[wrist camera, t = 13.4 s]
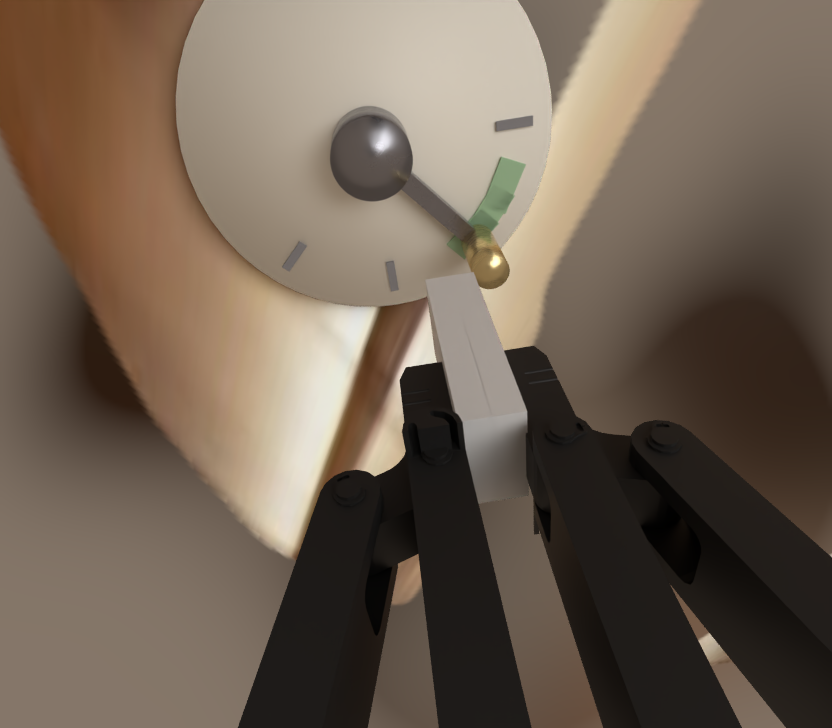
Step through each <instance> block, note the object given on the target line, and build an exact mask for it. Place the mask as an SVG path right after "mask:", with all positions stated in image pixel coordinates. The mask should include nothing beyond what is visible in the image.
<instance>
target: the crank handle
mask: <svg viewBox="0 0 832 728" xmlns="http://www.w3.org/2000/svg"><path fill="white" fill-rule="evenodd" d="M330 165H331V170H332V173H333V176H334V178H335V180H336V181H337V183H338V184H339V186H340V187H341V188H342V189H343V190H344V191H345V192H346V193H348V194H349V195H351V196H353V197H354V198H357V199H359V200H363V201H370V202H373V201H381V200H385V199H388V198H390V197H392V196H393V195H395V194H396V193H398V192H399V191H400V190H403V191H404V192H405V193H406V194H407V195H408V196H410V197H411V198H412V199H413V200H414V201H415V202H417V203H418V204H419V205H420V206H421V207H422V208H424V209H425V210H426V211H427V212H428V213H429V214H431V215H432V216H433V217H434V218H435V219H437V220H438V221H439V222H440V223H441V224H442V225H444V226H445V227H446V228H447V229H448V230H449V231H451V232H452V233H453V234H454V235H455V236H456V237H458V238H459V239H460V240H461V246H462V249H463V251H464V254H465V257H466V259H467V262H468V265H469V267H470V270H471V272H474V275H475V277H476V280H477V282H478V285H479V286H480V287H482V288H485V289H494V288H497V287H499V286H501V285H502V284H503V283H504V282H505V281H506V280H507V278H508V276H509V272H510V269H509V265H508V263H507V261H506V259H505V257H504V255H503V253H502V251H501V249H500V247H499V245H498V243H497V241H496V239H495V237H494V235H493V233H492V231H491V230H490V229H489V228H488V227H487V226H484V225H480V224H478V225H472V224H471V223H470V222H469V221H467V220H466V219H465V218H464V217H463V216H462V215H461V214H459V213H458V212H457V211H456V210H455V209H454V208H453V207H452V206H450V205H449V204H448V203H447V202H446V201H445V200H444V199H442V198H441V197H440V196H439V195H438V194H437V193H436V192H435V191H433V190H432V189H431V188H430V187H429V186H428V185H427V184H425V183H424V182H423V181H422V180H421V179H420V178H419V177H418V176H416V175H415V174H414V173H413V172H412V166H413V155H412V149H411V146H410V143H409V139H408V136H407V133H406V131H405V128H404V127H403V125H402V123H401V122H400V121H399V119H398V118H397V117H396V116H395V115H393V114H392V113H391V112H389V111H387V110H385V109H383V108H380V107H375V106H363V107H359V108H356V109H353V110H351V111H350V112H348V113H347V114H346V115H344V116H343V117H342V118H341V119H340V121H339V122H338V124H337V125H336V127H335V129H334V132H333V135H332V141H331V151H330Z"/></svg>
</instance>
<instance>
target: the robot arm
mask: <svg viewBox="0 0 832 728" xmlns="http://www.w3.org/2000/svg"><path fill="white" fill-rule="evenodd" d="M425 282H426V290H427V297H428V304H429V312H430V319H431V327H432V334H433V342H434V349H435V355H436V360H437V363H431V364H425V365H419V366H413V367H406V368H405V370H404V372H403V374H402V376H401V379H400V388H401V396H402V405H403V414H404V424H403V430H402V434H403V439H404V444H405V449H406V452H405V455H404V457H403V458H402V460H401V461H400V462H399V463H398V464H397V465H396V466H394V467H393V468H391V469H390V470H388V471H386V472H384V473H382V474H379V475H377V476H373V475H371V474H370V473H368V472H366V471H360V470H351V471H345V472H342V473H340V474H338V475H335V476H334V477H333V478H331V479H330V480H329V481H328V482H327V483H326V484H325V485H324V487H323V489H322V490H321V492H320V495H319V497H318V500H317V503H316V506H315V509H314V512H313V515H312V517H311V520H310V523H309V526H308V529H307V532H306V535H305V537H304V540H303V543H302V546H301V549H300V552H299V555H298V557H297V560H296V563H295V566H294V569H293V572H292V575H291V578H290V580H289V583H288V586H287V589H286V592H285V595H284V597H283V600H282V603H281V606H280V609H279V612H278V615H277V617H276V620H275V623H274V626H273V629H272V632H271V635H270V637H269V640H268V643H267V646H266V649H265V652H264V655H263V658H262V660H261V663H260V666H259V669H258V672H257V675H256V678H255V680H254V683H253V686H252V689H251V692H250V695H249V697H248V700H247V704H246V706H245V709H244V712H243V715H242V717H241V720H240V723H239V726H238V728H368V723H369V718H370V712H371V707H372V702H373V696H374V691H375V686H376V681H377V675H378V670H379V665H380V660H381V654H382V649H383V644H384V638H385V633H386V628H387V622H388V617H389V612H390V606H391V601H392V596H393V591H394V585H395V580H396V575H397V569H398V563H400V562H402V561H404V560H406V559H408V558H411V557H413V556H415V555H417V554H419V562H420V571H421V579H422V588H423V596H424V604H425V614H426V621H427V631H428V639H429V648H430V656H431V665H432V673H433V682H434V690H435V699H436V707H437V716H438V724H439V728H531V724H530V719H529V715H528V711H527V707H526V703H525V698H524V694H523V690H522V686H521V681H520V677H519V673H518V669H517V665H516V661H515V656H514V652H513V648H512V643H511V639H510V635H509V631H508V627H507V622H506V618H505V614H504V610H503V605H502V601H501V597H500V593H499V589H498V584H497V580H496V576H495V572H494V567H493V563H492V559H491V555H490V550H489V547H488V542H487V538H486V533H485V530H484V525H483V521H482V517H481V512H480V508H479V504H480V503H486V502H492V501H498V500H504V499H510V498H516V497H523V496H528V495H529V491H528V489H529V488H528V483H529V486H530V489H531V492H532V495H533V498H534V499H533V502H534V534H539V531H540V534H541V537H542V539H543V543H544V546H545V549H546V552H547V555H548V558H549V561H550V564H551V567H552V571H553V574H554V576H555V580H556V583H557V586H558V589H559V592H560V595H561V598H562V602H563V605H564V608H565V611H566V614H567V617H568V620H569V623H570V626H571V629H572V633H573V635H574V639H575V642H576V645H577V648H578V651H579V654H580V657H581V660H582V663H583V667H584V669H585V673H586V676H587V679H588V682H589V685H590V688H591V691H592V694H593V697H594V700H595V704H596V707H597V710H598V712H599V716H600V719H601V722H602V725H603V728H742V727H741V725H740V723H739V721H738V719H737V717H736V715H735V713H734V711H733V709H732V707H731V705H730V703H729V701H728V699H727V697H726V695H725V693H724V691H723V689H722V687H721V685H720V683H719V681H718V679H717V677H716V675H715V673H714V671H713V669H712V667H711V665H710V663H709V661H708V659H707V657H706V655H705V653H704V651H703V649H702V647H701V645H700V643H699V641H698V639H697V638H696V635H695V634H694V632H693V630H692V627H691V626H690V624H689V622H688V620H687V618H686V616H685V614H684V612H683V610H682V608H681V606H680V604H679V602H678V600H677V598H676V596H675V594H674V592H673V590H672V588H671V586H672V587H673V588H674V589H675V591H676V592H677V593H678V594H679V596H680V597H681V598H682V599H683V600H684V602H685V603H686V604H687V606H688V607H689V608H690V609H691V610H692V612H693V613H694V614H695V615H696V617H697V618H698V619H699V620H700V622H701V623H702V624H703V625H704V627H705V628H706V629H707V630H708V632H709V633H710V634H711V635H712V637H713V638H714V639H715V640H716V641H717V643H718V644H719V645H720V646H721V648H722V649H723V650H724V651H725V653H726V654H727V655H728V656H729V658H730V659H731V660H732V661H733V662H734V664H735V665H736V666H737V667H738V669H739V670H740V671H741V672H742V674H743V675H744V676H745V677H746V679H747V680H748V681H749V682H750V683H751V684H752V686H753V687H754V688H755V690H756V691H757V692H758V693H759V695H760V696H761V697H762V698H763V700H764V701H765V702H766V703H767V705H768V706H769V707H770V708H771V709H772V711H773V712H774V713H775V714H776V716H777V717H778V718H779V719H780V721H781V722H782V723H783V724H784V726H785V727H786V728H832V557H831V556H830V555H828V554H827V553H826V552H825V551H824V550H823V549H822V548H820V547H819V546H818V545H817V544H816V543H815V542H814V541H813V540H812V539H810V538H809V537H808V536H807V535H806V534H805V533H804V532H803V531H801V530H800V529H799V528H798V527H797V526H796V525H795V524H794V523H792V522H791V521H790V520H789V519H788V518H787V517H786V516H785V515H783V514H782V513H781V512H780V511H779V510H778V509H777V508H776V507H774V506H773V505H772V504H771V503H770V502H769V501H768V500H767V499H765V498H764V497H763V496H762V495H761V494H760V493H759V492H758V491H756V490H755V489H754V488H753V487H752V486H751V485H749V483H747V482H746V481H745V480H744V479H743V478H742V477H741V476H740V475H738V474H737V473H736V472H735V471H734V470H733V469H732V468H731V467H729V466H728V465H727V464H726V463H725V462H724V461H723V460H722V459H720V458H719V457H718V456H717V455H716V454H715V453H714V452H713V451H711V450H710V449H709V448H708V447H707V446H706V445H705V444H704V443H702V442H701V441H700V440H699V439H698V438H697V437H696V436H694V435H693V434H692V433H691V432H690V431H689V430H687V429H685V428H684V427H682V426H681V425H678V424H675V423H672V422H669V421H658V420H654V421H649V422H644V423H642V424H641V425H639V426H637V427H636V428H635V429H634V431H633V433H632V434H631V436H625V435H613V434H606V433H601V432H598V431H595V430H592V429H591V427H590V426H589V425H588V424H587V423H586V422H585V421H584V420H582V419H580V418H578V417H576V415H575V413H574V411H573V409H572V407H571V405H570V403H569V401H568V399H567V397H566V395H565V393H564V391H563V388H562V386H561V384H560V382H559V381H558V379H557V376H556V374H555V372H554V370H553V368H552V366H551V364H550V362H549V360H548V358H547V356H546V355H545V354H544V353H542V352H541V351H540V350H539V349H537V348H536V347H535V346H530V347H523V348H517V349H511V350H505V351H504V350H503V347H502V345H501V342H500V339H499V337H498V334H497V332H496V329H495V326H494V324H493V321H492V319H491V316H490V313H489V311H488V308H487V306H486V303H485V300H484V298H483V295H482V293H481V290H480V287H479V285H478V282H477V280H476V277H475V275H474V272H470V273H464V274H457V275H451V276H445V277H439V278H432V279H426V280H425ZM669 583H670V584H669ZM670 585H671V586H670Z"/></svg>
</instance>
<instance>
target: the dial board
mask: <svg viewBox="0 0 832 728" xmlns="http://www.w3.org/2000/svg"><path fill="white" fill-rule="evenodd" d="M363 106H375V107H380V108H383V109H385V110H387V111H389V112H391V113H392V114H393V115H395V116H396V117H397V118H398V119H399V121H400V122H401V123H402V125H403V127H404V128H405V131H406V133H407V136H408V139H409V143H410V146H411V149H412V155H413V166H412V172H413V173H414V174H415V175H416V176H418V177H419V178H420V179H421V180H422V181H423V182H424V183H425V184H427V185H428V186H429V187H430V188H431V189H432V190H433V191H435V192H436V193H437V194H438V195H439V196H440V197H441V198H442V199H444V200H445V201H446V202H447V203H448V204H449V205H450V206H452V207H453V208H454V209H455V210H456V211H457V212H458V213H459V214H461V215H462V216H463V217H464V218H465V219H466V220H467V221H469V222H470V223H471V224H472V225H478V224H480V225H484V226H487V227H488V228H489V229H490V230H491V231H492V233H493V235H494V237H495V239H496V241H497V243H498V245H499V247H500V249H501V248H502V247H503V246H504V244H505V243H506V242H507V241H508V239H509V238H510V237H511V235H512V234H513V233H514V232H515V230H516V229H517V228H518V226H519V224H520V223H521V221H522V220H523V218H524V216H525V215H526V213H527V211H528V210H529V208H530V206H531V203H532V201H533V199H534V197H535V195H536V192H537V190H538V188H539V185H540V182H541V179H542V176H543V173H544V169H545V166H546V162H547V156H548V151H549V146H550V140H551V126H552V104H551V90H550V84H549V78H548V73H547V67H546V63H545V60H544V57H543V53H542V50H541V47H540V44H539V41H538V38H537V36H536V34H535V32H534V30H533V27H532V25H531V23H530V21H529V19H528V17H527V14H526V13H525V11H524V10H523V8H522V7H521V5H520V4H519V2H518V0H204V2H203V4H202V5H201V7H200V9H199V11H198V12H197V14H196V16H195V18H194V21H193V23H192V26H191V28H190V31H189V33H188V36H187V39H186V41H185V44H184V48H183V53H182V57H181V61H180V65H179V69H178V79H177V89H176V121H177V130H178V136H179V142H180V148H181V153H182V156H183V159H184V163H185V166H186V169H187V173H188V176H189V178H190V180H191V183H192V185H193V187H194V190H195V192H196V194H197V197H198V199H199V200H200V202H201V204H202V206H203V207H204V209H205V211H206V212H207V214H208V216H209V218H210V219H211V221H212V222H213V223H214V225H215V226H216V227H217V229H218V230H219V231H220V233H221V234H222V235H223V236H224V238H225V239H226V240H227V241H228V242H229V243H230V244H231V245H232V246H233V247H234V248H235V249H236V251H237V252H238V253H239V254H240V255H241V256H243V257H244V258H245V259H246V260H247V261H249V262H250V263H251V264H252V265H253V266H255V267H256V268H257V269H258V270H260V271H261V272H263V273H264V274H266V275H267V276H269V277H270V278H272V279H273V280H275V281H276V282H278V283H280V284H282V285H284V286H286V287H288V288H290V289H292V290H294V291H296V292H299V293H302V294H304V295H307V296H310V297H313V298H315V299H319V300H323V301H327V302H331V303H335V304H343V305H351V306H375V307H377V306H387V305H397V304H402V303H406V302H411V301H415V300H419V299H422V298H425V297H427V290H426V282H425V280H426V279H432V278H439V277H445V276H451V275H457V274H464V273H470V272H471V270H470V267H469V265H468V262H467V259H466V257H465V254H464V251H463V249H462V246H461V240H460V239H459V238H458V237H456V236H455V235H454V234H453V233H452V232H451V231H449V230H448V229H447V228H446V227H445V226H444V225H442V224H441V223H440V222H439V221H438V220H437V219H435V218H434V217H433V216H432V215H431V214H429V213H428V212H427V211H426V210H425V209H424V208H422V207H421V206H420V205H419V204H418V203H417V202H415V201H414V200H413V199H412V198H411V197H410V196H408V195H407V194H406V193H405V192H404V191H403V190H400V191H399V192H398V193H396V194H395V195H393V196H392V197H390V198H388V199H385V200H381V201H373V202H370V201H363V200H359V199H357V198H354V197H353V196H351V195H349V194H348V193H346V192H345V191H344V190H343V189H342V188H341V187H340V186H339V184H338V183H337V181H336V180H335V178H334V176H333V173H332V170H331V165H330V151H331V141H332V135H333V132H334V129H335V127H336V125H337V124H338V122H339V121H340V119H341V118H342V117H343V116H344V115H346V114H347V113H348V112H350V111H351V110H353V109H356V108H359V107H363Z"/></svg>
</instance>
